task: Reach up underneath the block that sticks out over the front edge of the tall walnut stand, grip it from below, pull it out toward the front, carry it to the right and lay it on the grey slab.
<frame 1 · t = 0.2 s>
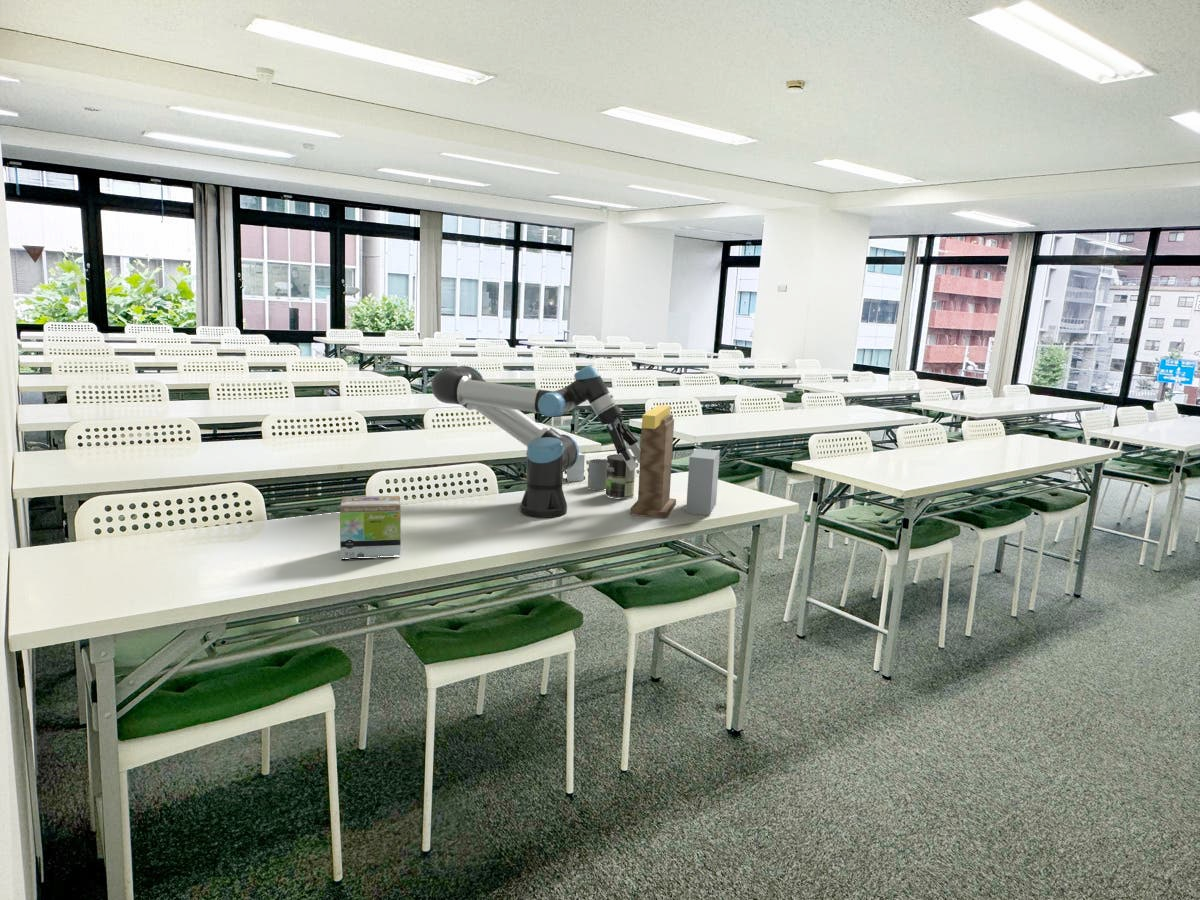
hand: (638, 465, 244), 15 cm above the table, tool tilted 35°, fingers open, 13 cm apart
cup: (598, 488, 276), on the table
skincare box: (571, 478, 289), on the table
coffee can: (619, 496, 266), on the table
stand: (653, 509, 250), on the table
tea box: (371, 554, 196), on the table
block: (656, 422, 241), point 30 cm above the table, touching stand
grey slab: (701, 508, 253), on the table
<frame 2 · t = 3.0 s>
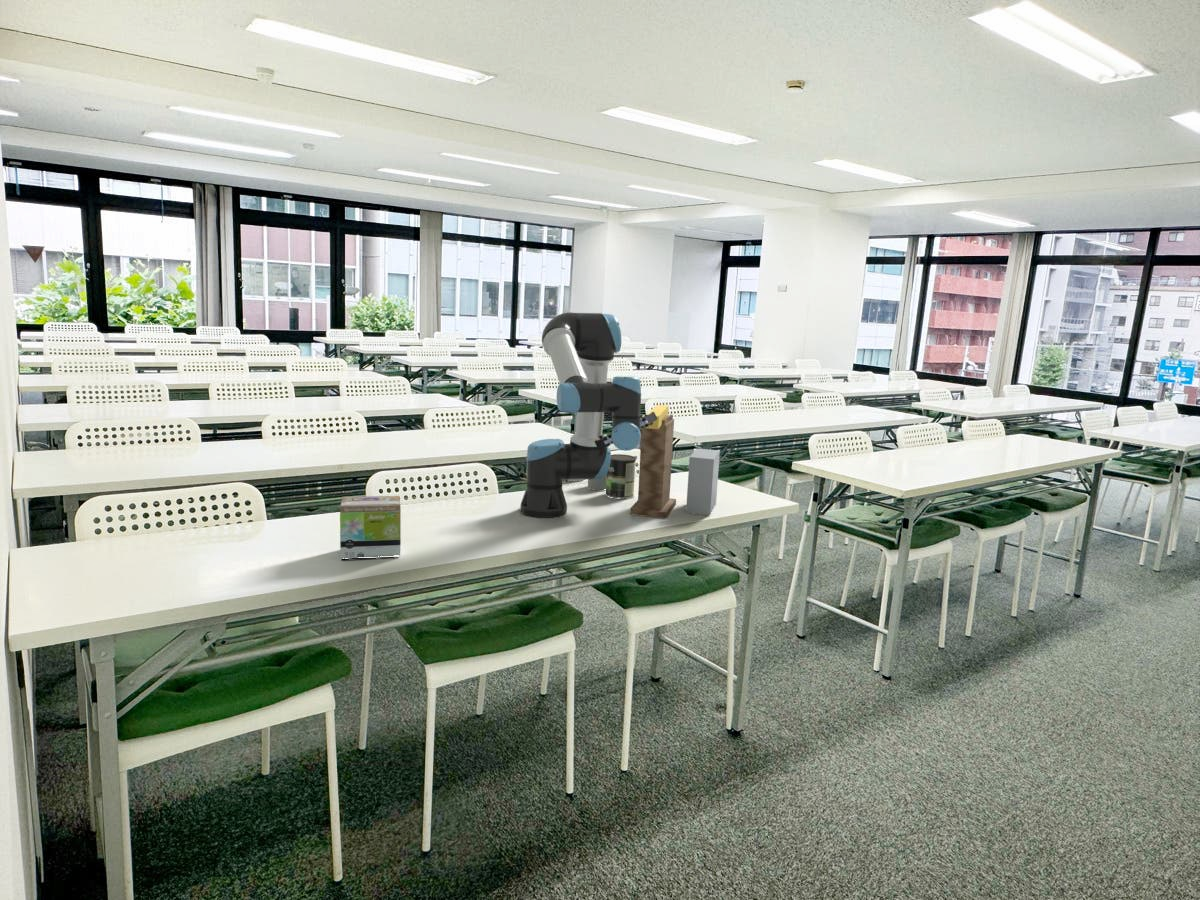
hand: (625, 428, 228), 30 cm above the table, tool horizontal, fingers open, 12 cm apart
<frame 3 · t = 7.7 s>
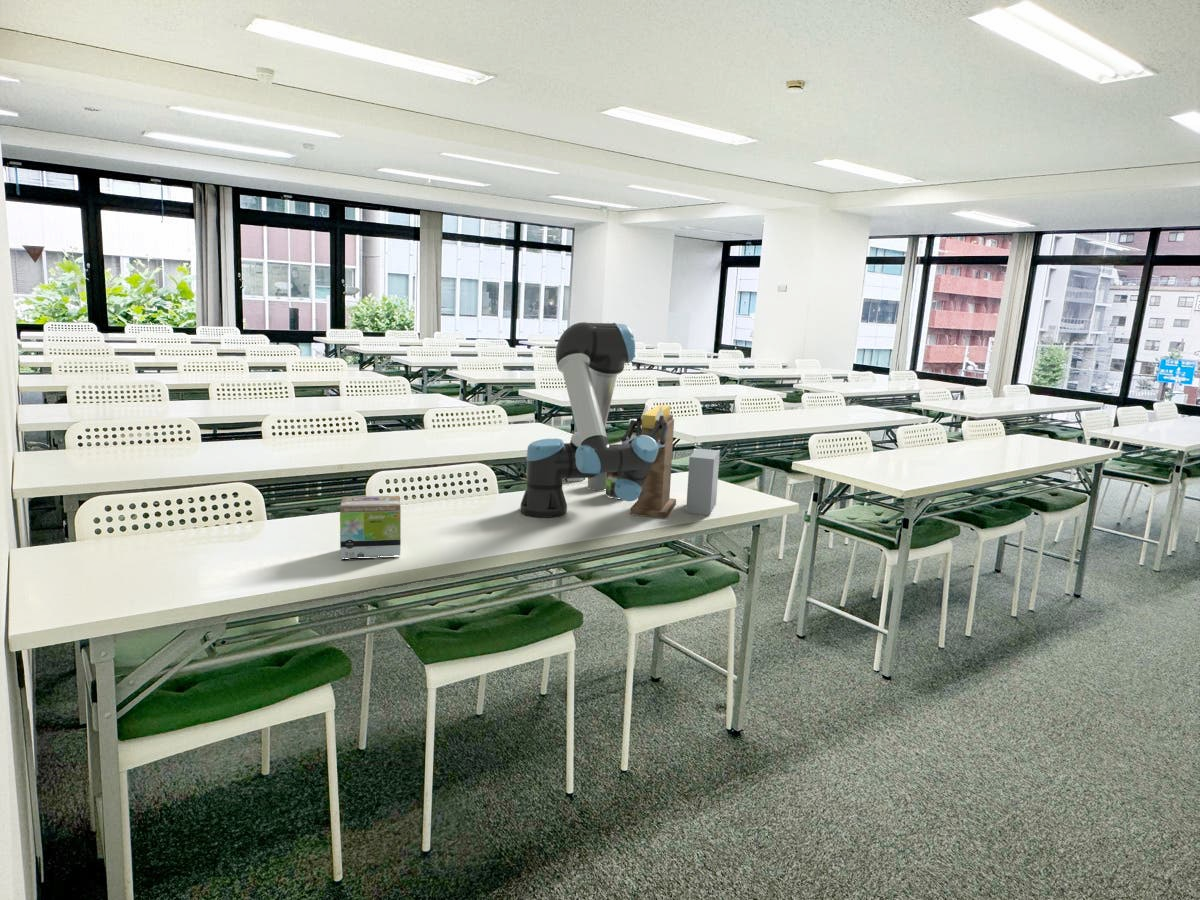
hand: (653, 410, 235), 35 cm above the table, tool pointing upward, fingers closed on block, 4 cm apart
block: (656, 422, 241), point 30 cm above the table, touching gripper, stand
everything else where it was.
when the fingers open (25 cm above the table, at t = 16.8 s): block stays where it is, resting on grey slab.
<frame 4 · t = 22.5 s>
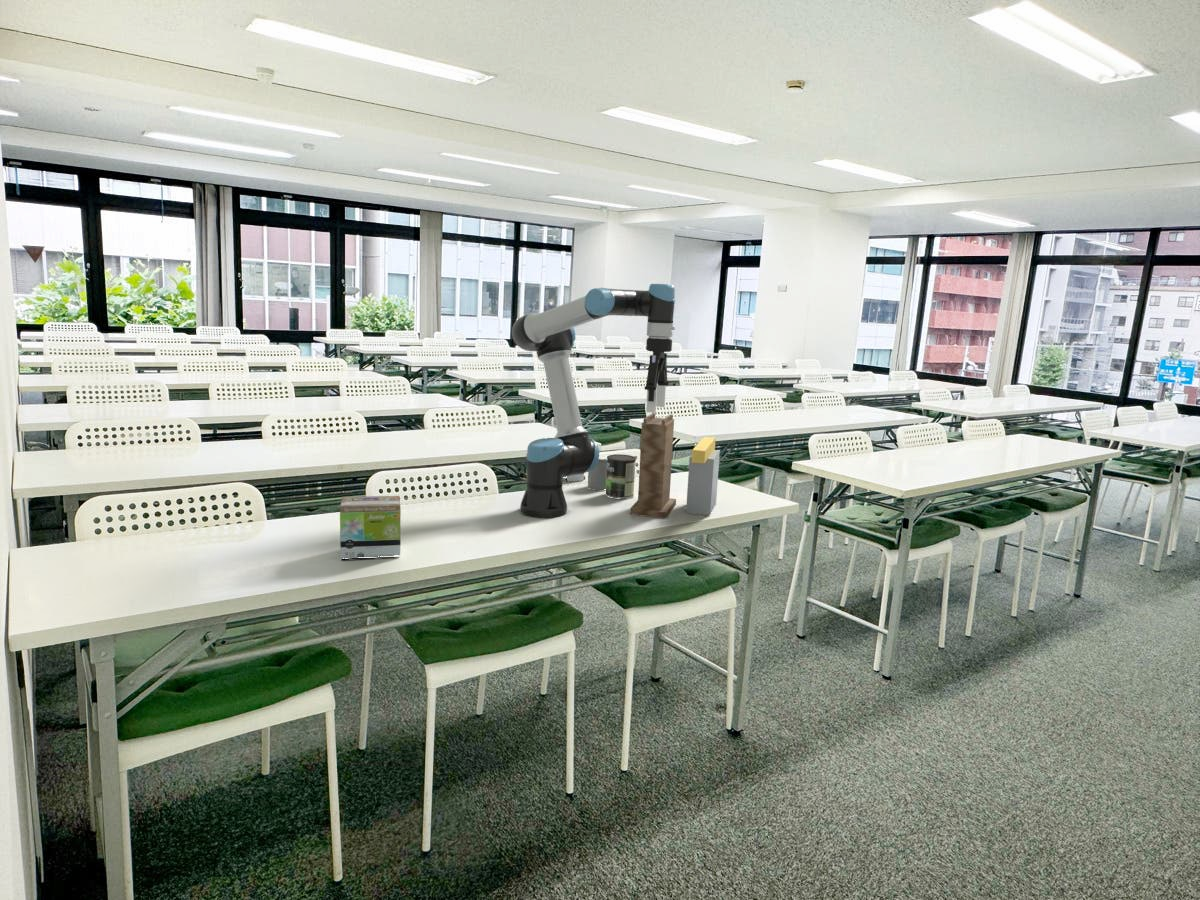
hand: (655, 409, 222), 37 cm above the table, tool pointing down, fingers open, 13 cm apart
block: (703, 455, 247), point 19 cm above the table, touching grey slab
everything else where it was.
at the end: block inside the target area (3.0 cm from its centre), point 19.0 cm above the table; the gripper is holding nothing; block moved 20.2 cm from its start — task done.
